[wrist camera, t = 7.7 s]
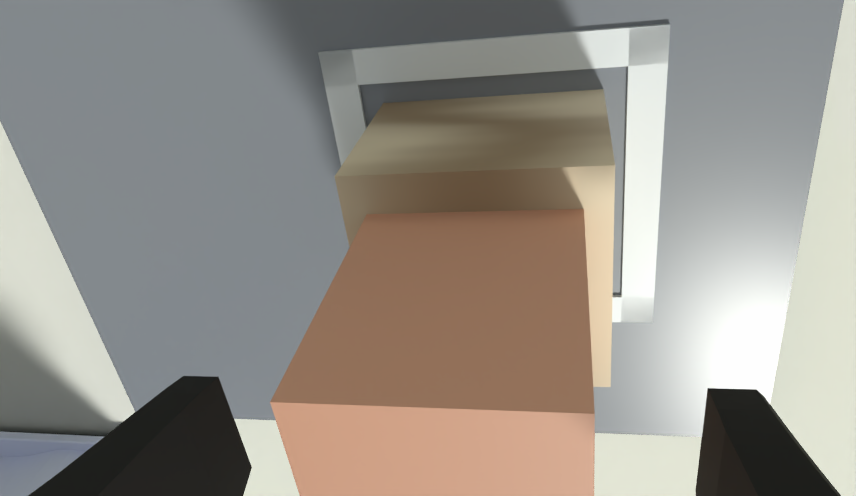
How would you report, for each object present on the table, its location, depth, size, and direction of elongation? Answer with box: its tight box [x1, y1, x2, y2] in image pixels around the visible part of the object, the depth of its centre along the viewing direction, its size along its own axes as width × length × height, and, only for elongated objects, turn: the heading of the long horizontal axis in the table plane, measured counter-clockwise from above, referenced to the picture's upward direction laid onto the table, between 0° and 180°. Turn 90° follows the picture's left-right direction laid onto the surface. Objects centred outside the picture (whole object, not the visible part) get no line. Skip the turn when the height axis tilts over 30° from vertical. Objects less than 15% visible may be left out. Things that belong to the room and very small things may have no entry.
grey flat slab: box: [0, 0, 844, 437], centre depth 18 cm, size 20×16×1 cm
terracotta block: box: [270, 209, 595, 496], centre depth 11 cm, size 4×4×5 cm
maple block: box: [334, 89, 615, 387], centre depth 15 cm, size 5×5×4 cm
